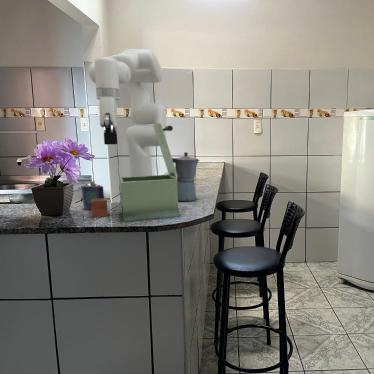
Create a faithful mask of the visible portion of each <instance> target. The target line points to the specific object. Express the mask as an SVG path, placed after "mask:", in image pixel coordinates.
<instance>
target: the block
mask: <svg viewBox="0 0 374 374" xmlns="http://www.w3.org/2000/svg"><path fill="white" fill-rule="evenodd" d="M90 211H91V218H92V219H93V218H105V217H108V216H109V211H108V199H107V197H104V198H99V199H91V210H90Z"/></svg>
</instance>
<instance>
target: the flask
mask: <svg viewBox="0 0 374 374" xmlns="http://www.w3.org/2000/svg"><path fill="white" fill-rule="evenodd" d="M95 182H96V180H93V181H89V184H90V185H89V184H88V185H82V186H81V192H82V206H83V210H85V211H86V210H88V211H92V210H91V199H99V198H105V194H104V186H103V185H100V184H97V183H95Z"/></svg>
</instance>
